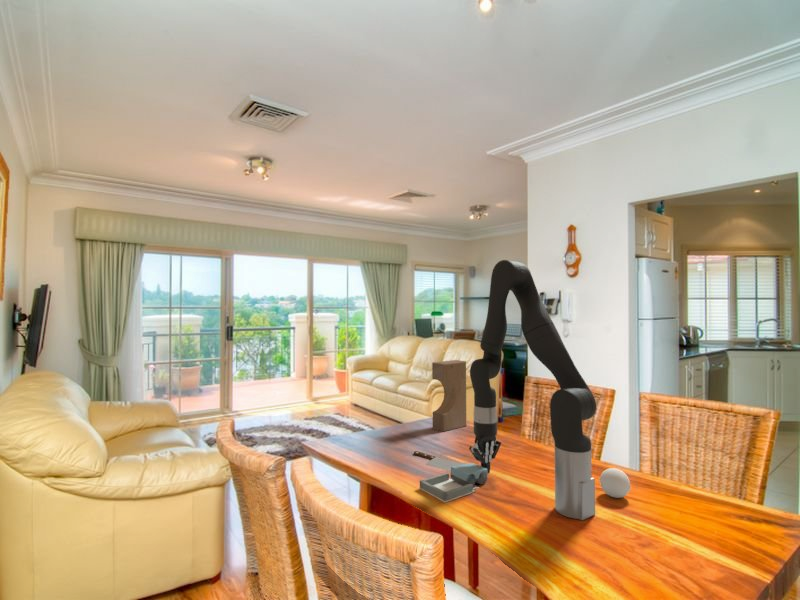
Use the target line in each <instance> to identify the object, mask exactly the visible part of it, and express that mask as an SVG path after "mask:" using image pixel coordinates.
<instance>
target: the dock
mask: <svg viewBox="0 0 800 600" xmlns="http://www.w3.org/2000/svg"><path fill="white" fill-rule="evenodd" d="M419 489H420V490H421V491H423V492H425V493H427V494H428V495H430V496H432V497H434V498H436V499H438V500H439V501H441V502H443V503H448V502H451V501H453V500H456V499H459V498H462V497H465V496H468V495H470V494H473V493H475V492H476V490H477V489H480V487H479V486H477V485H476V484H474V486H473V484H467V485H463V484H461V483H459V482H456V481H454V480H452V479H451V477H450V473H449V472H444V473H440V474H438V475H435V476H432V477H431V476H430V477H427V478H425V479H421V480H419Z"/></svg>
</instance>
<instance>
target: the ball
mask: <svg viewBox="0 0 800 600" xmlns="http://www.w3.org/2000/svg"><path fill="white" fill-rule="evenodd" d="M599 483H600V487H601V490H603V491H604V493H605V494H606V495H608V496H609V497H612V498H616V499H620V498H623V497H626V496H627V494H629V492H630V489H631V481H630V479H629V477H628V475H627V474H626V473H625V472H624V471H622V470H621V469H619V468H615V467H611V468H610V467H609V468H607V469H605V470H603V471H602V472H601V474H600V476H599Z"/></svg>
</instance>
